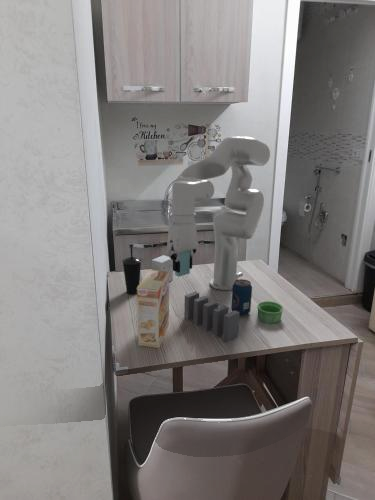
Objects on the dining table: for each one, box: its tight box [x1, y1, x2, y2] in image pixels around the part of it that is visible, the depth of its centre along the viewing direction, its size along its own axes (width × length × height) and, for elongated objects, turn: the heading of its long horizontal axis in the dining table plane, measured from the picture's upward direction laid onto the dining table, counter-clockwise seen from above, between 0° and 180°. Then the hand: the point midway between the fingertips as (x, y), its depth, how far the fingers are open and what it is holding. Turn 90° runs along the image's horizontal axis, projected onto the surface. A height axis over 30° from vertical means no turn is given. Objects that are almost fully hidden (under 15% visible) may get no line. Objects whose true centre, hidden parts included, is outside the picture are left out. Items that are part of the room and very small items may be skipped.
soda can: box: [230, 278, 253, 317], centre depth 133 cm, size 7×7×12 cm
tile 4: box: [202, 299, 219, 332], centre depth 123 cm, size 5×2×9 cm, turn 132°
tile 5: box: [211, 304, 229, 338], centre depth 120 cm, size 5×2×9 cm, turn 132°
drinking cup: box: [121, 244, 143, 295], centre depth 147 cm, size 8×8×20 cm
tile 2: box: [183, 291, 200, 321], centre depth 130 cm, size 5×2×9 cm, turn 132°
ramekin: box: [256, 300, 284, 324], centre depth 131 cm, size 9×9×4 cm
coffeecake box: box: [136, 269, 170, 349], centre depth 117 cm, size 15×7×20 cm, turn 171°
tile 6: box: [222, 310, 240, 344], centre depth 117 cm, size 5×2×9 cm, turn 132°
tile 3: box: [192, 295, 209, 326], centre depth 127 cm, size 5×2×9 cm, turn 132°
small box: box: [151, 254, 174, 282], centre depth 160 cm, size 8×6×10 cm
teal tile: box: [174, 251, 191, 278], centre depth 128 cm, size 5×2×9 cm, turn 132°
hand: (182, 269), depth 129 cm, fingers closed on teal tile, 4 cm apart
